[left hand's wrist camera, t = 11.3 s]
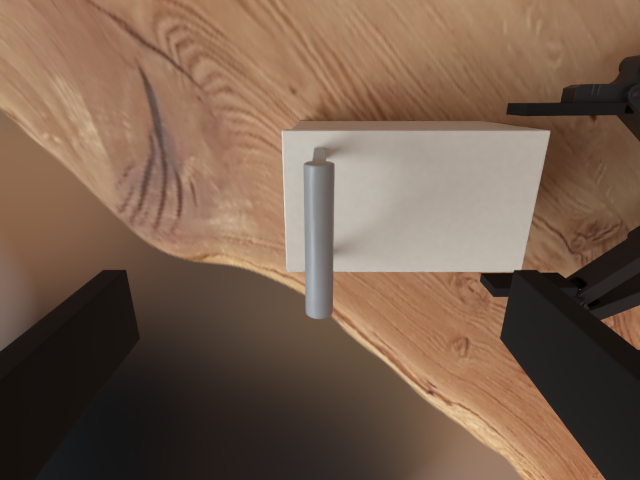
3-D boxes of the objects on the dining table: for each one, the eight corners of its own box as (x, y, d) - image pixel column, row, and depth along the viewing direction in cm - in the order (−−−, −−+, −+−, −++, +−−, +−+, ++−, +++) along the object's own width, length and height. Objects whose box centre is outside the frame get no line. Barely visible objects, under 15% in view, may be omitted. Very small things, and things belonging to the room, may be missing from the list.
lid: (287, 266, 27) (274, 334, 19) (282, 129, 24) (264, 144, 16) (515, 266, 27) (593, 334, 19) (543, 129, 24) (652, 144, 16)
